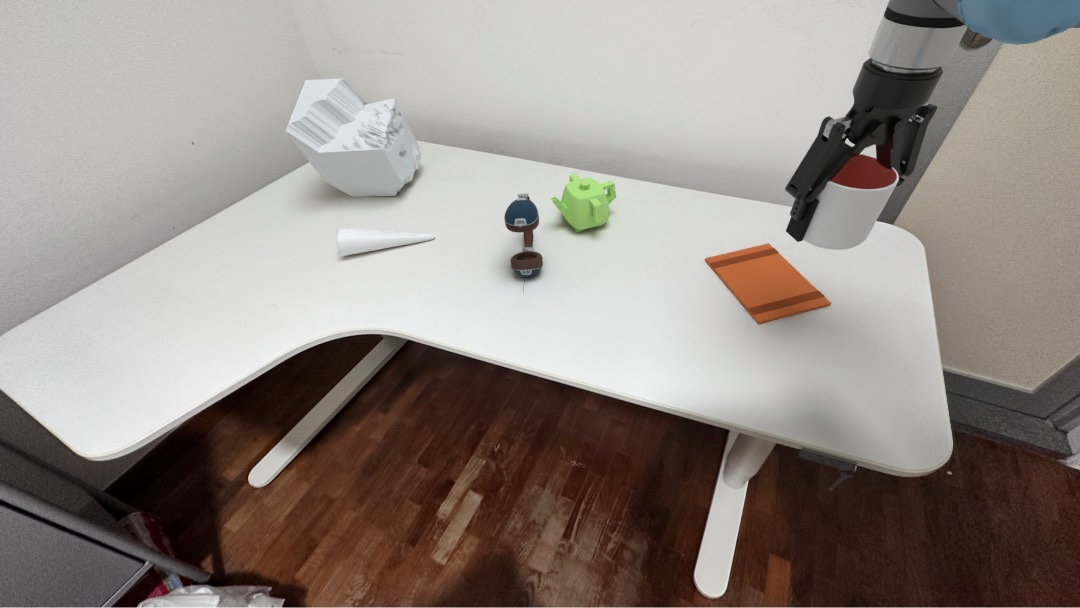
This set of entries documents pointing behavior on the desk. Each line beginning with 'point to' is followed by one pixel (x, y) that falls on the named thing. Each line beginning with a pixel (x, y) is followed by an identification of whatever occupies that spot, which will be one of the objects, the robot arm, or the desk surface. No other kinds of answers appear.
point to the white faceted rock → (353, 139)
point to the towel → (766, 283)
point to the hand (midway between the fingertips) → (827, 228)
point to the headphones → (524, 220)
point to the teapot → (585, 202)
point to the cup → (851, 204)
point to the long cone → (375, 240)
